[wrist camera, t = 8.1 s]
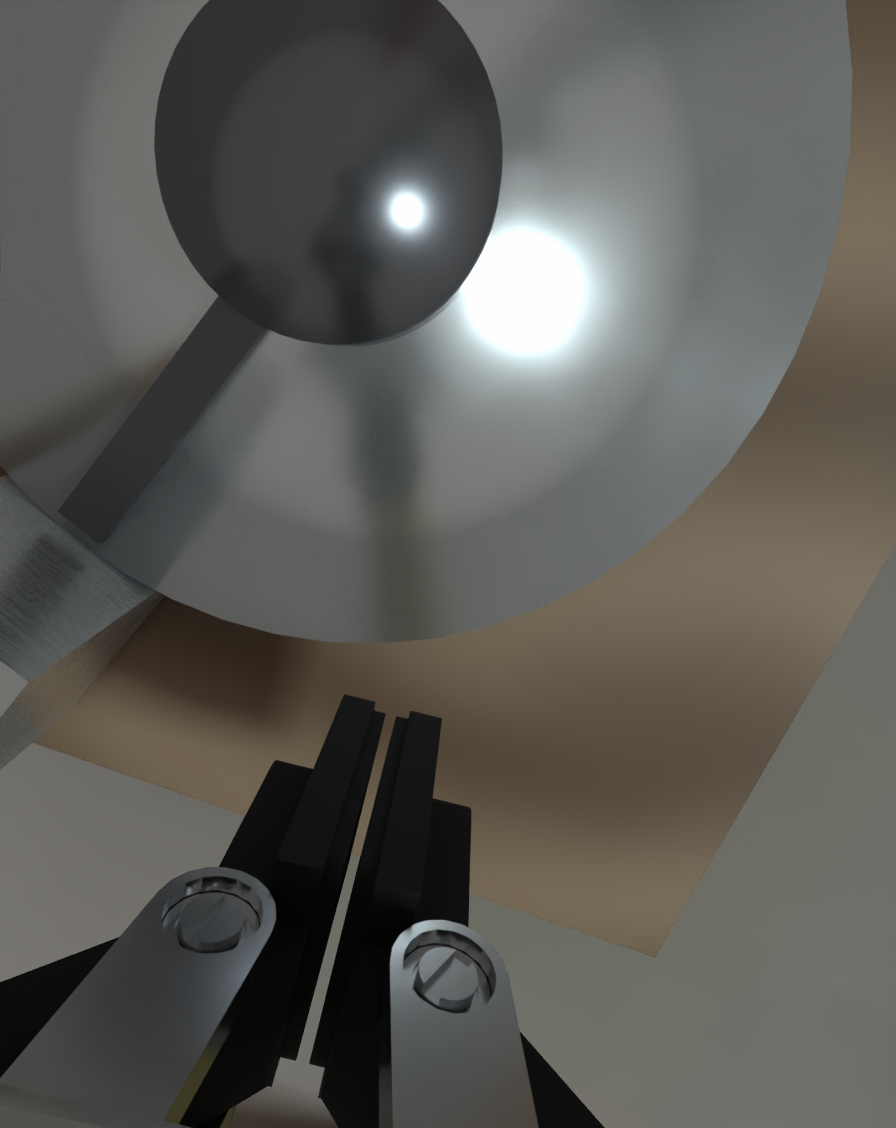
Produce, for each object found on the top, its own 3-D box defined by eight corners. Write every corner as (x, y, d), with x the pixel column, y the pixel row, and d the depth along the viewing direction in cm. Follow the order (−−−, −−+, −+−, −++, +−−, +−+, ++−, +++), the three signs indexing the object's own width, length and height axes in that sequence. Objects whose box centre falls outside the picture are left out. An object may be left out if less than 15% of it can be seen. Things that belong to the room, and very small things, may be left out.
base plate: (37, -948, 9) (-526, -2638, 4) (1317, -304, 11) (2143, -959, 5) (-177, 621, 16) (-505, 750, 11) (640, 907, 17) (714, 1150, 12)
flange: (292, -664, 9) (87, -1813, 4) (991, 164, 11) (1368, 19, 6) (-318, 424, 13) (-763, 457, 8) (281, 871, 15) (195, 1096, 10)
